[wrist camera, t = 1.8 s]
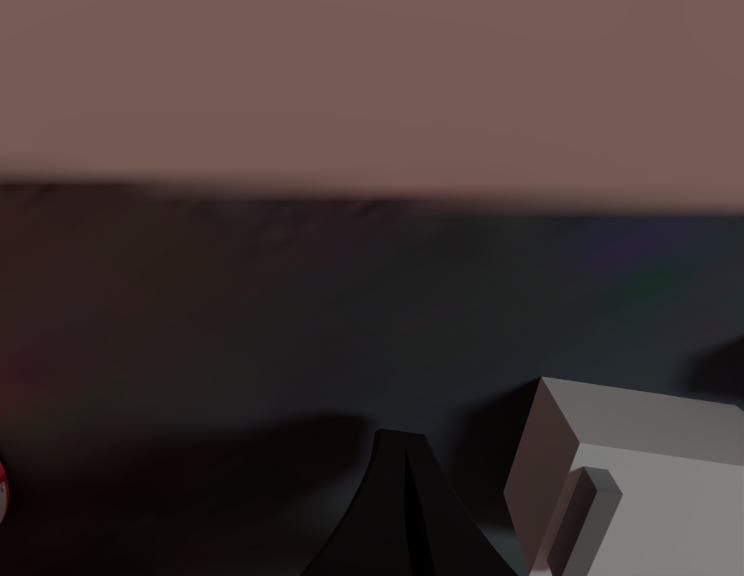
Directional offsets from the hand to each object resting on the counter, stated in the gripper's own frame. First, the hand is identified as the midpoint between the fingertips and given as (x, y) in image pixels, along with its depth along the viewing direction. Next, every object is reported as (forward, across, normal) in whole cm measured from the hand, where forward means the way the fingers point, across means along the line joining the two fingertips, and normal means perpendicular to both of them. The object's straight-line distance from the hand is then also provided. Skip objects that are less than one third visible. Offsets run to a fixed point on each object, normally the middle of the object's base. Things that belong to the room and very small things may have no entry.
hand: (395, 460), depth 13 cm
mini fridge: (+2, -7, 0) cm, 7 cm away
